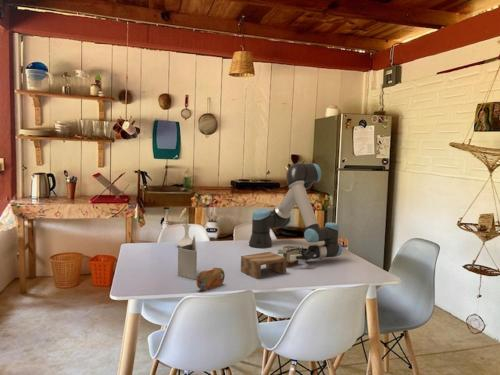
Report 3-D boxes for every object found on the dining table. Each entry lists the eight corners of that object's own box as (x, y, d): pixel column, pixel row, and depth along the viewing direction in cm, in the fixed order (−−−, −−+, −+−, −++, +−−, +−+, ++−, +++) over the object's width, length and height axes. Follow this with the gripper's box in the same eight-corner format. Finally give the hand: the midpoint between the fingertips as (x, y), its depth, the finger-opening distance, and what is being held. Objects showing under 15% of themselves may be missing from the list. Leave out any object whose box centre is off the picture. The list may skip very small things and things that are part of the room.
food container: (291, 262, 223) (291, 244, 223) (299, 264, 219) (300, 246, 218) (276, 265, 215) (277, 247, 214) (285, 268, 210) (285, 249, 210)
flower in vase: (180, 244, 258) (181, 205, 256) (197, 245, 257) (198, 206, 254) (173, 248, 245) (174, 208, 243) (191, 250, 244) (192, 209, 241)
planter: (176, 270, 202) (176, 232, 200) (192, 269, 204) (192, 232, 202) (179, 280, 186) (179, 239, 184) (196, 279, 188) (197, 239, 187)
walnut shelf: (240, 271, 203) (241, 256, 202) (268, 266, 213) (269, 251, 212) (257, 279, 191) (257, 262, 191) (285, 273, 202) (286, 257, 201)
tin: (199, 292, 171) (200, 273, 170) (194, 290, 173) (195, 271, 172) (224, 284, 182) (225, 266, 182) (220, 283, 184) (220, 265, 184)
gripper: (329, 264, 213) (295, 267, 204) (304, 252, 236) (272, 255, 227) (330, 250, 213) (296, 253, 204) (304, 240, 235) (272, 242, 226)
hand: (283, 254), depth 215 cm, fingers open, 13 cm apart
